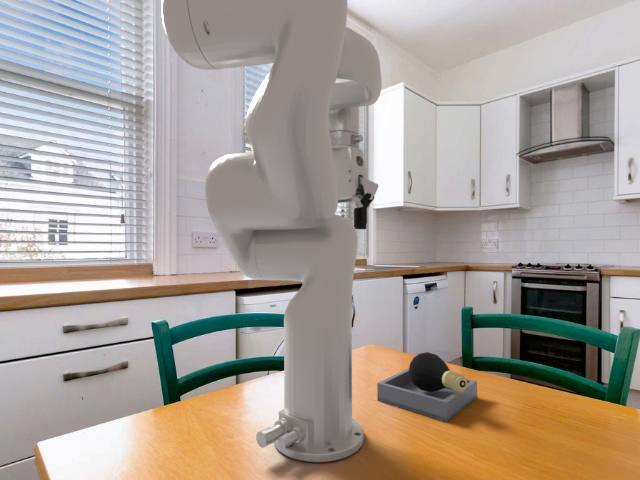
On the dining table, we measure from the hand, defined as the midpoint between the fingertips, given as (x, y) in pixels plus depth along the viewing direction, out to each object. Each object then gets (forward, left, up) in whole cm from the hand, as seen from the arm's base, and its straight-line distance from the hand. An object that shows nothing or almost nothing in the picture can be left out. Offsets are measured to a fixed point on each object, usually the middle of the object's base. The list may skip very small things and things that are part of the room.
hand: (340, 230), depth 77 cm
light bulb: (+2, -20, -28) cm, 35 cm away
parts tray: (+3, -17, -30) cm, 35 cm away
